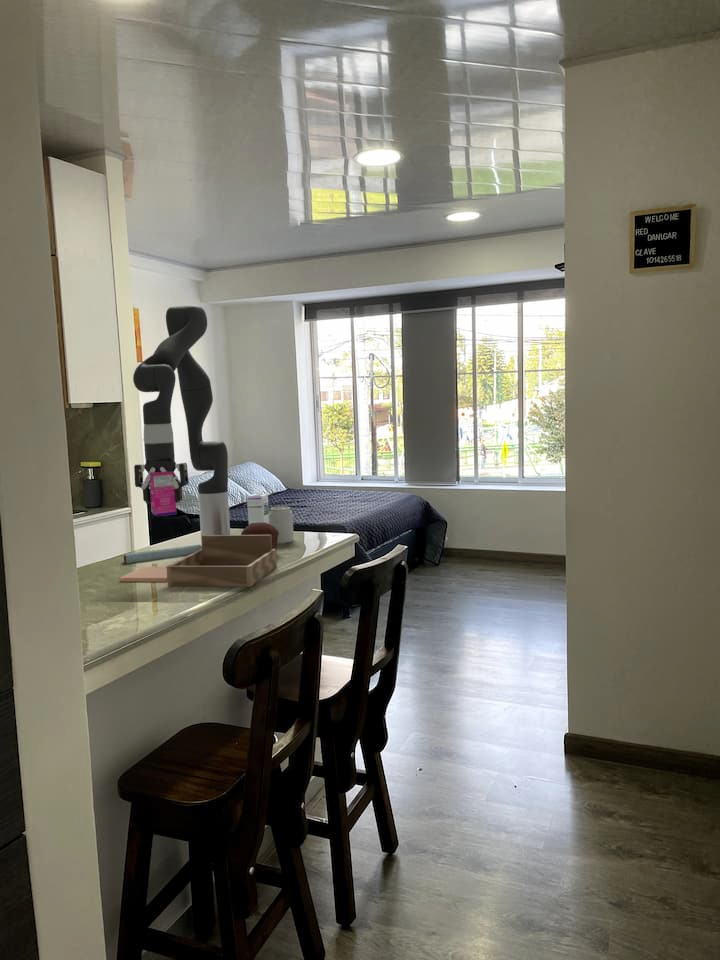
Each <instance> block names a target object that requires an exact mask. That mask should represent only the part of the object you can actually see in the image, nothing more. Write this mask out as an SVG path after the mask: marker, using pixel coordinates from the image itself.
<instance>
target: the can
mask: <svg viewBox="0 0 720 960" xmlns="http://www.w3.org/2000/svg"><path fill="white" fill-rule="evenodd" d="M293 518H294V517H293V511H292V510H291V507H290V506H274V507H271V508H270V510H269V524H271V525H272V526H274V527H275V528H276V529H277V530H278V532H279V533H280V534H279V535H278V541H277V544H287V543H286V542H289V543H291V541H292V542H293V540H295V538H294V537H295V536H294V519H293Z"/></svg>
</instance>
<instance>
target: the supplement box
mask: <svg viewBox="0 0 720 960" xmlns="http://www.w3.org/2000/svg"><path fill="white" fill-rule="evenodd" d="M169 474H170V475H171V476H172V477H173V478H174V475H173V471H172V472H154V473H150V483H149V486H150V487H149V489H150V497H151V503H150V506H151V507H150V508H151V514H152V515H154V516H155V517H160V516H161V517H162V516H171V515H177V514H178V510H177V503H176V502H175V494H174V489H175V487H174V486H173V482H169Z"/></svg>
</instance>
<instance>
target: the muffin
mask: <svg viewBox="0 0 720 960" xmlns="http://www.w3.org/2000/svg"><path fill="white" fill-rule="evenodd" d="M279 534H280V533H279V532H278V530H277V529H276V528H275V527H274V526H272V525H271V524H269V523H264V522H258V523H253V524H250V525H249V524H248V525H247V526H246V527H245V528H243V530H242V531H241V534H240V535H272V549H276V551H277V549H278V543H277V541H278V535H279Z"/></svg>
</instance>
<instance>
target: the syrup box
mask: <svg viewBox="0 0 720 960" xmlns="http://www.w3.org/2000/svg"><path fill="white" fill-rule="evenodd" d="M246 502H247V503H246V505H247V506H246V507H247V519H248V525H250V524H253V523H258V522H264V523H269V513H270V506H269V494H267V493H254V494H253V493H252V494H251V495H248V496H246Z"/></svg>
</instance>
